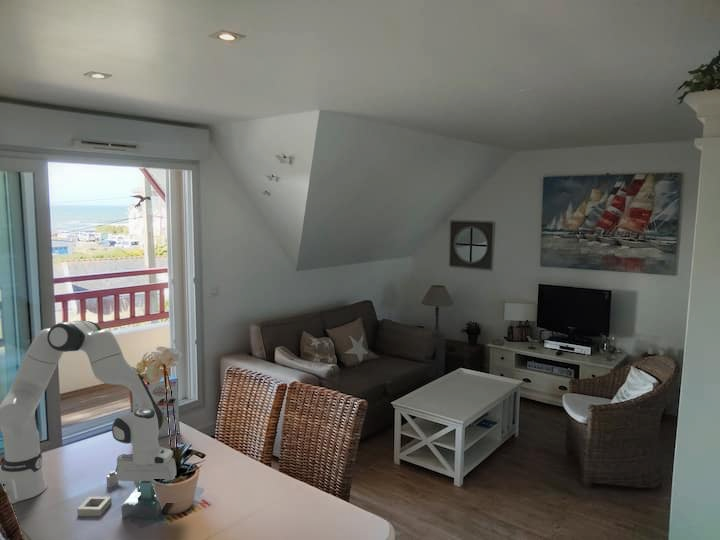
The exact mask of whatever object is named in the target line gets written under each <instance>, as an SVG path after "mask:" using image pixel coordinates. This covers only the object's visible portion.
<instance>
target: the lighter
mask: <svg viewBox="0 0 720 540" xmlns="http://www.w3.org/2000/svg"><path fill="white" fill-rule="evenodd" d="M117 468H118V465H117V464H116V468H115V470H112V471H110V472H109V474H108V475H106V488H109V489H110V488H113V487H114V486H116V485H118V484H119V480H118V479H117Z"/></svg>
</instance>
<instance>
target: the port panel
mask: <svg viewBox="0 0 720 540" xmlns="http://www.w3.org/2000/svg"><path fill="white" fill-rule="evenodd" d="M161 513H162V512H161V506H160V501H158V500H157V497H156V495H154V496H153V498H152V499H141V492H137V487H135V489H134V490H133V491H132V492H131V494H130V495H129V496H128V498H126V500H125V501H124V502H123V504H122V505H121V518H122V519H140V520H141V519H142V520H143V519H144V520H145V519H148V520H150V519H151V520H157V519H158V517H159V516H160V515H161Z"/></svg>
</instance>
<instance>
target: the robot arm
mask: <svg viewBox="0 0 720 540" xmlns="http://www.w3.org/2000/svg"><path fill="white" fill-rule="evenodd" d="M79 351H83V352H84V353H86V355H87V357H88V361H89V364H90V367H91V370H92V371H91V372H93V376H94V377H95V378H96V379H97V380H98V381H100V382H101V383H104V384H108V385H119V386H123V387H126V388H128V389H129V391H130V390H131V391H132V393H133V395H134V397H135V399H136V401H137V403H138V405H139V407H140V408H139V409H137V410H135V411H134V412H131V411H130V412H128V413H126V414H123V415H120V416H118V417H117V418H115V419H114V421H113V423H112V426H111V427H112V428H111V433H112V437H113V439H115V441H117V442H119V443H121V444H131V445H132V448H131V450H132V451H131V452H132V453H128V454H127V453H126V454H125V453H122V454H120V455H118V456H117V459H116V466H117V465H118V468H117V479H118V482H119V481H120V482H133V484H134V486H135V488H137V492H141V491H140V482H141V481H152V480H153V479H167V480H173V479H174V480H175V478H176V477H175V476H177V465H176V464H177V463H176V459H174V458H173V456H174V451H173V450H172V449H169V448H166V447H165V446H161V445H160V443H159V438H158V434H159V430H160V428H161V426H162V424H163V421H164V416H163V413H162V411H161V410H160V408H159V407H158V406H157V404H156V403H155V401H154V399H153V398H152V396H151V394H150V392H149V390H148V388H147V386H146V384H145V382H144V381H145V380H144V379H143V378H142V379H143V380H142V379H141V377H142V375H141V374H140V373H139V374H137V373H136V372H135V369H136V367H133V366H132V365H130V364H129V363H128V362H127V360H126V359H125V357H124V354H123V352H122V349H121V346H120V344H119V342H118V340H117V338H116V336H115V335H114V334H113V332H111V331H110V330H107V329H102V328H101V326H100V325H99V324H97V323H96V322H93V321H85V320H73V321H62V322H58V323H55V324H54V325H53V326H52V327H49V328H48V327H47V328H44V329H42V330H40V331H39V332H38V334H37V335H36V336H35V337H34V338H33V341H32V342H31V343H30V345H29V347H28V348H27V351H26V354H25V356H23V357H24V358H23V359H22V361H21V364H20V366H19V368H18V369H17V372H16V375H15V377H14V379H13V382H12V384H11V387H10V389H9V391H8V393H7V394H6V396H5V397H4V399H3V400H2V402H1V403H0V431H1V434H2V438H3V449H4V456H3V457H2V458H1V459H0V464H1V465H0V483H2V484H3V486H4V488H5V490H6V492H7V494H8V496H9V498H10V501H11V503H12V504H16V503H18V502H21V501H25V500H28V499H29V500H30V499H31V498H34V497H37V496H39V495H40V494H42V493H44V491H45V490H46V489H47V488H48V483H47V482H46V479H45V476H44V472H43V455H42V450H41V447H40V446H41V445H40V444H41V443H40V432H39V430H38V427H37V423H36V415H35V414H36V410H37V408H38V406H39V404H40V402H41V400H42V398H43V396H44V394H45V392H46V389H47V387H48V385H49V383H50V381H51V379H52V376H53V374H54V372H55V370H56V368H57V366H58V364H59V362H60V360H61V358H62V355H63V354H64V352H66V353H67V352H79ZM174 480H173V481H174ZM151 490H152V491H151V492H155V491H154V489H153V486H152V488H151ZM12 504H11V505H12Z"/></svg>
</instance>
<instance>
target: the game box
mask: <svg viewBox="0 0 720 540" xmlns="http://www.w3.org/2000/svg"><path fill="white" fill-rule="evenodd" d="M168 377H169V380H170V385H171V390H172V397H173V404H174V415H175V420H176V428H177V433H178V432H179V433H178V434H181V430H180V412H179V411H180V410H179V380H178V377H177V376H176V375H170V376H169V375H168ZM161 378H162V379H161V380H160V381H159V382H158V383H156V384H152V385H148V384H147V383H146V382H145V384H146V386H147V388H148V390H149V392H150V394H151V396H152V398H153V399H154V401H155V403H156V404H157V406H158V407H159V408H160V410H161V411H162V413H163V416H164V421H163V424H162V426H161V428H160V430H159V434H158V439H159V438H160V439H161V438H164V437H169V436H168V420H167V404H166V392H165V381H164V377H161ZM167 395H168V411H169V418H170V431H171V435H170V436H173V435H176V434H175V429H174V416H173V406H172V397H171V391H170V388H169V387H168V389H167ZM129 402H130V403H129V406H130V407H129V408H130V413H131V412H134V411H135V410H137V409H139V408H140V407H139V405H138V403H137V401H136V399H135V397H134V395H133V393H132V391H131V390H130V389H129Z"/></svg>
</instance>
